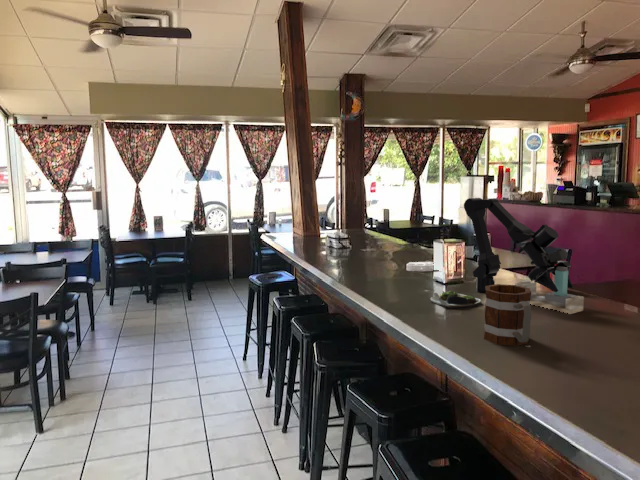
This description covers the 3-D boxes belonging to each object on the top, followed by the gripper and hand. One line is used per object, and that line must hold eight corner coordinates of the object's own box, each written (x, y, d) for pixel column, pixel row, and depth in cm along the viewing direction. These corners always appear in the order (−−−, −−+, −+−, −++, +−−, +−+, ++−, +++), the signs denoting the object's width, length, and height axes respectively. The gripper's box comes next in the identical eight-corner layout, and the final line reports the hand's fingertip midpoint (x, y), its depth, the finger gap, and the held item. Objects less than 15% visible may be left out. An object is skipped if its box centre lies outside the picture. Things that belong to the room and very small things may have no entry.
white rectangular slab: (435, 266, 264) (444, 272, 249) (402, 267, 262) (409, 273, 248) (435, 260, 263) (445, 265, 249) (402, 261, 262) (409, 266, 247)
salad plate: (417, 300, 196) (417, 288, 195) (452, 294, 203) (453, 283, 203) (450, 312, 178) (450, 299, 178) (487, 305, 186) (488, 293, 185)
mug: (474, 331, 155) (476, 284, 153) (516, 330, 156) (518, 283, 154) (503, 354, 136) (505, 301, 134) (550, 352, 137) (553, 299, 135)
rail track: (514, 301, 191) (514, 282, 190) (526, 297, 195) (527, 279, 194) (571, 314, 172) (572, 293, 171) (583, 310, 176) (584, 290, 175)
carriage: (544, 299, 181) (546, 266, 179) (554, 296, 184) (556, 264, 183) (565, 303, 174) (567, 270, 173) (576, 301, 178) (577, 268, 176)
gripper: (537, 244, 175) (565, 280, 167) (567, 239, 185) (595, 273, 177) (516, 263, 182) (543, 298, 175) (546, 257, 192) (572, 290, 185)
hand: (564, 289), depth 178 cm, fingers open, 9 cm apart
